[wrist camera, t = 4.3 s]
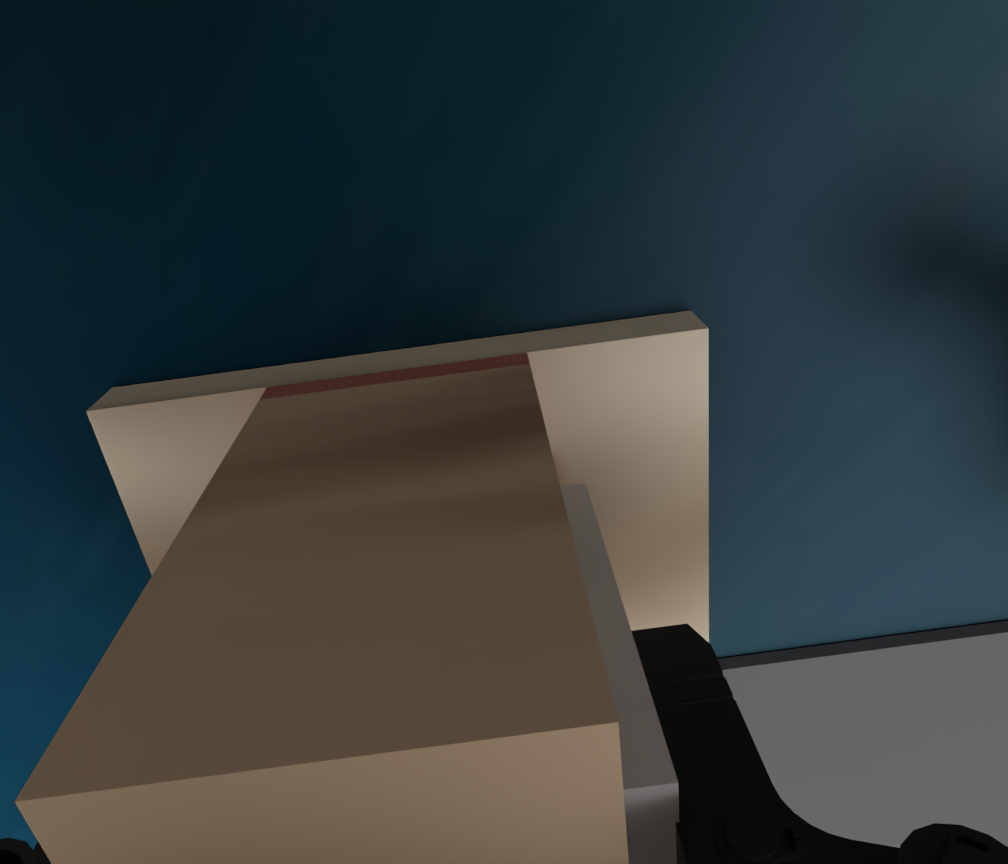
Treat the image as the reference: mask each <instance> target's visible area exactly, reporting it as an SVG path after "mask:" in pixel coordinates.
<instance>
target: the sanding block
mask: <svg viewBox="0 0 1008 864" xmlns="http://www.w3.org/2000/svg"><path fill="white" fill-rule="evenodd" d="M15 803H16V805H17V807H18V808H19V810H20V812H21V813H22V815H23V817H24V819H25V820H26V822H27V824H28V825H29V827H30V829H31V830H32V832H33V834H34V835H35V837H36V839H37V840H38V842H39V844H40V845H41V847H42V849H43V850H44V852H45V854H46V855H47V857H48V859H49V860H50V862H51V864H629V859H628V845H627V832H626V818H625V805H624V791H623V777H622V764H621V750H620V737H619V723H618V718H617V714H616V710H615V706H614V702H613V698H612V694H611V690H610V686H609V682H608V678H607V674H606V670H605V666H604V662H603V658H602V654H601V650H600V646H599V641H598V637H597V633H596V629H595V625H594V621H593V617H592V613H591V609H590V605H589V601H588V597H587V593H586V589H585V585H584V581H583V577H582V573H581V569H580V565H579V561H578V557H577V553H576V548H575V544H574V540H573V536H572V532H571V528H570V524H569V520H568V516H567V512H566V508H565V504H564V500H563V496H562V492H561V488H560V484H559V480H558V476H557V472H556V468H555V464H554V460H553V455H552V451H551V447H550V443H549V439H548V435H547V431H546V427H545V423H544V419H543V415H542V411H541V407H540V403H539V399H538V395H537V391H536V387H535V383H534V379H533V375H532V371H531V367H530V362H529V358H528V354H527V353H522V354H514V355H507V356H499V357H492V358H484V359H477V360H469V361H462V362H454V363H447V364H439V365H432V366H424V367H417V368H409V369H402V370H394V371H387V372H379V373H372V374H364V375H357V376H349V377H342V378H334V379H327V380H319V381H312V382H304V383H297V384H289V385H282V386H274V387H267V388H266V390H265V391H264V393H263V395H262V396H261V398H260V399H259V401H258V403H257V404H256V406H255V408H254V409H253V411H252V413H251V414H250V416H249V418H248V419H247V421H246V422H245V424H244V426H243V427H242V429H241V431H240V432H239V434H238V436H237V437H236V439H235V441H234V442H233V444H232V445H231V447H230V449H229V450H228V452H227V454H226V455H225V457H224V459H223V460H222V462H221V464H220V465H219V467H218V468H217V470H216V472H215V473H214V475H213V477H212V478H211V480H210V482H209V483H208V485H207V487H206V488H205V490H204V491H203V493H202V495H201V496H200V498H199V500H198V501H197V503H196V505H195V506H194V508H193V510H192V511H191V513H190V514H189V516H188V518H187V519H186V521H185V523H184V524H183V526H182V528H181V529H180V531H179V533H178V534H177V536H176V537H175V539H174V541H173V542H172V544H171V546H170V547H169V549H168V551H167V552H166V554H165V556H164V557H163V559H162V560H161V562H160V564H159V565H158V567H157V569H156V570H155V572H154V574H153V575H152V577H151V579H150V580H149V582H148V583H147V585H146V587H145V588H144V590H143V592H142V593H141V595H140V597H139V598H138V600H137V602H136V603H135V605H134V606H133V608H132V610H131V611H130V613H129V615H128V616H127V618H126V620H125V621H124V623H123V625H122V626H121V628H120V629H119V631H118V633H117V634H116V636H115V638H114V639H113V641H112V643H111V644H110V646H109V648H108V649H107V651H106V652H105V654H104V656H103V657H102V659H101V661H100V662H99V664H98V666H97V667H96V669H95V671H94V672H93V674H92V675H91V677H90V679H89V680H88V682H87V684H86V685H85V687H84V689H83V690H82V692H81V694H80V695H79V697H78V698H77V700H76V702H75V703H74V705H73V707H72V708H71V710H70V712H69V713H68V715H67V717H66V718H65V720H64V721H63V723H62V725H61V726H60V728H59V730H58V731H57V733H56V735H55V736H54V738H53V740H52V741H51V743H50V744H49V746H48V748H47V749H46V751H45V753H44V754H43V756H42V758H41V759H40V761H39V763H38V764H37V766H36V767H35V769H34V771H33V772H32V774H31V776H30V777H29V779H28V781H27V782H26V784H25V786H24V787H23V789H22V790H21V792H20V794H19V795H18V797H17V799H16V800H15Z"/></svg>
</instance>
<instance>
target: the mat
mask: <svg viewBox="0 0 1008 864" xmlns="http://www.w3.org/2000/svg"><path fill="white" fill-rule="evenodd" d="M717 660H718V662H719V664H720V666H721V669H722V671H723V676H724V677H725V678H726V680H727V682H728V685H729V687H730V689H731V691H732V694H733V698H734V700H736V703H737V705H738V707H739V709H740V712H741V714H742V716H743V718H744V721H745V723H746V725H747V727H748V730H749V732H750V734H751V737H752V739H753V741H754V743H755V746H756V748H757V750H758V752H759V755H760V757H761V759H762V761H763V764H764V766H765V768H766V770H767V773H768V775H769V777H770V780H771V782H772V784H773V786H774V788H775V789H776V791H777V793H778V794H779V796H780V798H781V799H782V800H783V801H784V802H785V803H786V805H787V806H788V807H789V808H790V809H791V810H792V811H793V812H794V813H795V814H797V815H798V816H799V817H801V818H802V819H804V820H805V821H806V822H808V823H809V824H810V825H812V826H815V827H817V828H819V829H821V830H823V831H825V832H827V833H829V834H833V835H836V836H840V837H844V838H847V839H852V840H857V841H863V842H869V843H874V844H880V845H886V846H891V847H897V848H900V845H901V844H902V843H903V841H904V840H905V839H906V838H907V837H908V836H909V835H910V834H911V832H912V831H913V830H915V829H918V828H921V827H924V826H927V825H930V824H933V823H939V824H957V825H963V826H965V827H968V828H971V829H974V830H977V831H980V832H983V833H985V834H988V835H990V836H991V837H993V838H994V839H996V840H998V841H999V842H1001V843H1002V844H1004V845H1005V846H1007V847H1008V621H1001V622H993V623H986V624H978V625H970V626H963V627H955V628H948V629H940V630H933V631H925V632H918V633H910V634H902V635H895V636H887V637H880V638H872V639H865V640H857V641H850V642H842V643H834V644H827V645H819V646H812V647H804V648H797V649H789V650H782V651H774V652H766V653H759V654H751V655H744V656H736V657H729V658H721V659H717Z"/></svg>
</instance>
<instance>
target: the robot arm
mask: <svg viewBox="0 0 1008 864" xmlns="http://www.w3.org/2000/svg"><path fill="white" fill-rule="evenodd" d="M560 488H561V492H562V496H563V500H564V504H565V508H566V512H567V516H568V520H569V524H570V528H571V532H572V536H573V540H574V544H575V548H576V553H577V557H578V561H579V565H580V569H581V573H582V577H583V581H584V585H585V589H586V593H587V597H588V601H589V605H590V609H591V613H592V617H593V621H594V625H595V629H596V633H597V637H598V641H599V646H600V650H601V654H602V658H603V662H604V666H605V670H606V674H607V678H608V682H609V686H610V690H611V694H612V698H613V702H614V706H615V710H616V714H617V718H618V723H619V737H620V750H621V764H622V777H623V791H624V805H625V818H626V832H627V845H628V859H629V864H1008V847H1007V846H1005V845H1004V844H1002V843H1001V842H999V841H998V840H996V839H994V838H993V837H991V836H990V835H988V834H985V833H983V832H980V831H977V830H974V829H971V828H968V827H965V826H963V825H957V824H939V823H933V824H930V825H927V826H924V827H921V828H918V829H915V830H913V831H912V832H911V834H910V835H909V836H908V837H907V838H906V839H905V840H904V841H903V843H902V844H901V845H900V848H897V847H891V846H886V845H880V844H874V843H869V842H863V841H857V840H852V839H847V838H844V837H840V836H836V835H833V834H829V833H827V832H825V831H823V830H821V829H819V828H817V827H815V826H812V825H810V824H809V823H808V822H806V821H805V820H804V819H802V818H801V817H799V816H798V815H797V814H795V813H794V812H793V811H792V810H791V809H790V808H789V807H788V806H787V805H786V803H785V802H784V801H783V800H782V799H781V798H780V796H779V794H778V793H777V791H776V789H775V788H774V786H773V784H772V782H771V780H770V777H769V775H768V773H767V770H766V768H765V766H764V764H763V761H762V759H761V757H760V755H759V752H758V750H757V748H756V746H755V743H754V741H753V739H752V737H751V734H750V732H749V730H748V727H747V725H746V723H745V721H744V718H743V716H742V714H741V712H740V709H739V707H738V705H737V703H736V700H734V698H733V694H732V691H731V689H730V687H729V685H728V682H727V680H726V678H725V677H724V676H723V671H722V669H721V666H720V664H719V662H718V660H717V657H716V655H715V653H714V651H713V648H712V646H711V644H709V643H708V642H707V641H706V640H705V639H704V638H703V637H702V636H701V635H700V634H698V633H697V632H696V631H695V630H694V629H693V628H692V627H691V626H690V625H689V624H679V625H672V626H664V627H657V628H649V629H641V630H634V631H631V628H630V625H629V622H628V619H627V615H626V612H625V609H624V606H623V602H622V599H621V596H620V593H619V590H618V586H617V583H616V580H615V577H614V573H613V570H612V567H611V564H610V561H609V557H608V554H607V551H606V548H605V544H604V541H603V538H602V535H601V532H600V528H599V525H598V522H597V519H596V515H595V512H594V509H593V506H592V503H591V499H590V496H589V493H588V490H587V486H586V483H582V484H574V485H567V486H560ZM0 864H51V862H50V860H49V859H48V857H47V855H46V854H45V852H44V850H43V849H42V847H41V845H40V844H39V842H37V844H36V846H35V848H34V850H32V849H31V847H30V846H29V845H28V843H27V842H25V841H21V840H16V839H12V838H5V839H0Z"/></svg>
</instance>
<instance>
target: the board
mask: <svg viewBox="0 0 1008 864" xmlns="http://www.w3.org/2000/svg"><path fill="white" fill-rule="evenodd" d="M522 353H527V354H528V358H529V362H530V367H531V371H532V375H533V379H534V383H535V387H536V391H537V395H538V399H539V403H540V407H541V411H542V415H543V419H544V423H545V427H546V431H547V435H548V439H549V443H550V447H551V451H552V455H553V460H554V464H555V468H556V472H557V476H558V480H559V484H560V486H567V485H574V484H582V483H586V486H587V490H588V493H589V496H590V499H591V503H592V506H593V509H594V512H595V515H596V519H597V522H598V525H599V528H600V532H601V535H602V538H603V541H604V544H605V548H606V551H607V554H608V557H609V561H610V564H611V567H612V570H613V573H614V577H615V580H616V583H617V586H618V590H619V593H620V596H621V599H622V602H623V606H624V609H625V612H626V615H627V619H628V622H629V625H630V628H631V631H634V630H641V629H649V628H657V627H664V626H672V625H679V624H689V625H690V626H691V627H692V628H693V629H694V630H695V631H696V632H697V633H698V634H700V635H701V636H702V637H703V638H704V639H705V640H706V641H707V642H708V643H709V328H708V327H707V326H706V325H705V324H704V323H703V322H702V321H701V320H700V319H699V318H698V317H697V316H696V315H695V314H694V313H693V312H692V311H691V310H690V311H683V312H675V313H668V314H660V315H653V316H645V317H638V318H630V319H623V320H615V321H608V322H600V323H593V324H585V325H578V326H570V327H563V328H555V329H548V330H540V331H533V332H525V333H518V334H510V335H503V336H495V337H488V338H480V339H473V340H465V341H458V342H450V343H443V344H435V345H428V346H420V347H413V348H405V349H398V350H390V351H383V352H375V353H368V354H360V355H353V356H345V357H338V358H330V359H323V360H315V361H308V362H300V363H293V364H285V365H278V366H270V367H263V368H255V369H248V370H240V371H233V372H225V373H218V374H210V375H203V376H195V377H188V378H180V379H173V380H165V381H158V382H150V383H143V384H135V385H128V386H120V387H113V388H111V389H110V390H109V391H108V392H107V393H106V394H105V395H103V396H102V397H101V398H100V399H99V400H98V401H97V402H96V403H95V404H93V405H92V406H91V407H90V408H89V409H88V410H87V411H86V413H87V415H88V418H89V420H90V423H91V425H92V428H93V430H94V433H95V435H96V438H97V440H98V443H99V445H100V448H101V450H102V453H103V455H104V458H105V460H106V463H107V465H108V468H109V470H110V473H111V475H112V478H113V480H114V483H115V485H116V488H117V490H118V493H119V495H120V498H121V500H122V503H123V505H124V508H125V510H126V513H127V515H128V518H129V520H130V523H131V525H132V528H133V530H134V533H135V535H136V537H137V540H138V542H139V545H140V547H141V550H142V552H143V555H144V557H145V560H146V562H147V565H148V567H149V570H150V572H151V575H153V574H154V572H155V570H156V569H157V567H158V565H159V564H160V562H161V560H162V559H163V557H164V556H165V554H166V552H167V551H168V549H169V547H170V546H171V544H172V542H173V541H174V539H175V537H176V536H177V534H178V533H179V531H180V529H181V528H182V526H183V524H184V523H185V521H186V519H187V518H188V516H189V514H190V513H191V511H192V510H193V508H194V506H195V505H196V503H197V501H198V500H199V498H200V496H201V495H202V493H203V491H204V490H205V488H206V487H207V485H208V483H209V482H210V480H211V478H212V477H213V475H214V473H215V472H216V470H217V468H218V467H219V465H220V464H221V462H222V460H223V459H224V457H225V455H226V454H227V452H228V450H229V449H230V447H231V445H232V444H233V442H234V441H235V439H236V437H237V436H238V434H239V432H240V431H241V429H242V427H243V426H244V424H245V422H246V421H247V419H248V418H249V416H250V414H251V413H252V411H253V409H254V408H255V406H256V404H257V403H258V401H259V399H260V398H261V396H262V395H263V393H264V391H265V390H266V388H267V387H274V386H282V385H289V384H297V383H304V382H312V381H319V380H327V379H334V378H342V377H349V376H357V375H364V374H372V373H379V372H387V371H394V370H402V369H409V368H417V367H424V366H432V365H439V364H447V363H454V362H462V361H469V360H477V359H484V358H492V357H499V356H507V355H514V354H522Z"/></svg>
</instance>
